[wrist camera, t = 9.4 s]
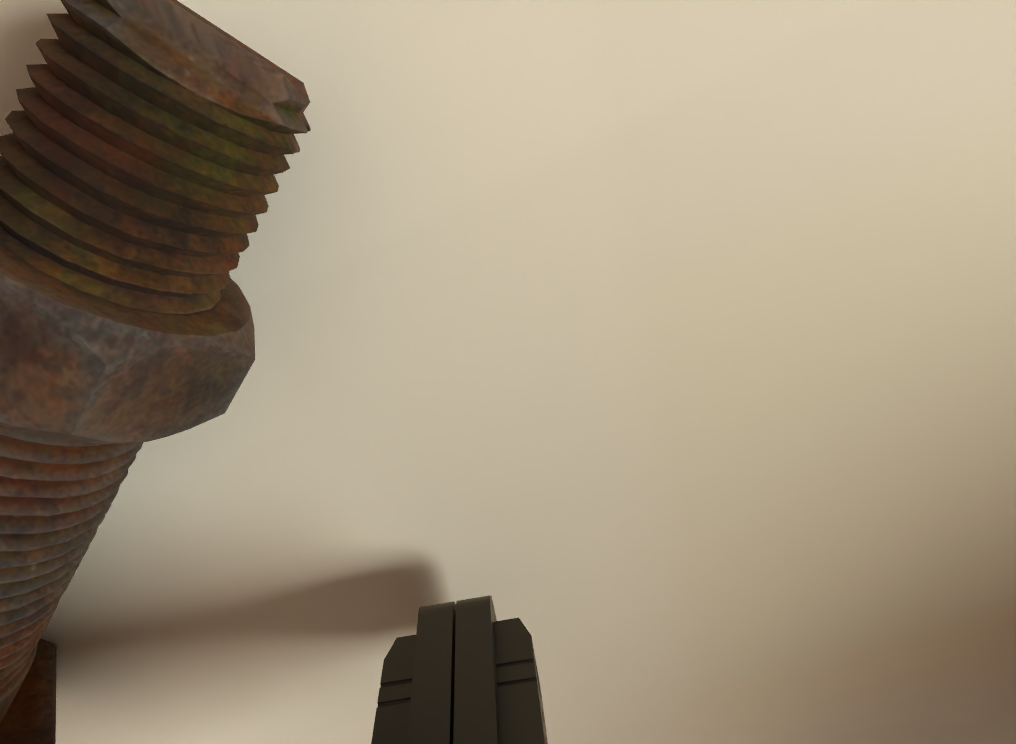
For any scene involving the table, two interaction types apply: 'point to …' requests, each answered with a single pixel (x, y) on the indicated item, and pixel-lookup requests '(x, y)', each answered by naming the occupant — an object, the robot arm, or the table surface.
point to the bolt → (117, 283)
